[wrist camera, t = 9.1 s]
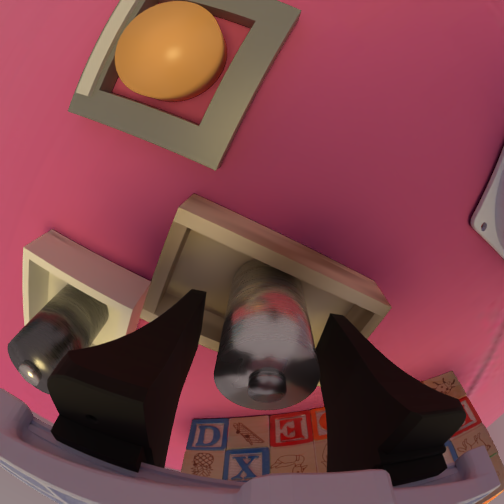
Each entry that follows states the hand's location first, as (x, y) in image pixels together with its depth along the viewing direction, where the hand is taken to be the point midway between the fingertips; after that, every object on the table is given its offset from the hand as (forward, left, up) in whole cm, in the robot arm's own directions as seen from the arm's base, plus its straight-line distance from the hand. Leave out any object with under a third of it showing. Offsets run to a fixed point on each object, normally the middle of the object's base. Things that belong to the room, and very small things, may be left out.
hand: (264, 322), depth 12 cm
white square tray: (+9, +6, -3) cm, 11 cm away
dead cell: (+9, +6, -2) cm, 11 cm away
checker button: (+8, -8, -3) cm, 12 cm away
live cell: (0, 0, -2) cm, 2 cm away
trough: (0, 0, -3) cm, 3 cm away
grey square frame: (+9, -8, -3) cm, 12 cm away
